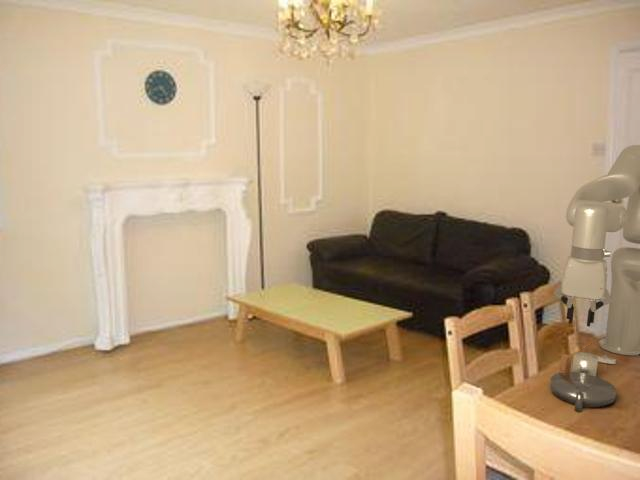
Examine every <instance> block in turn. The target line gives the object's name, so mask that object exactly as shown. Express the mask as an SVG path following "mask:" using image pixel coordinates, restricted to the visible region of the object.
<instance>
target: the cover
mask: <svg viewBox="0 0 640 480" xmlns="http://www.w3.org/2000/svg"><path fill="white" fill-rule="evenodd" d="M597 356H598V355H595V354H592V353H589V352H581V351H579V352H575V353H574V354H573V358H572V359H573V360H572V366H571V367H572V368H571V372H577V373H584V374H589V375H593V376H596V377H597V373H598V372H597V370H598V364H599V362H598V357H597Z"/></svg>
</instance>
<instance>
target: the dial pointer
mask: <svg viewBox="0 0 640 480" xmlns="http://www.w3.org/2000/svg"><path fill="white" fill-rule="evenodd" d="M583 397H584V394H583V393H582V390H579V392H577V393H576V401H575V404H574V411H575V412H577V413H582V412H583V407H584V406H583Z"/></svg>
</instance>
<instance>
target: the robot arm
mask: <svg viewBox="0 0 640 480" xmlns="http://www.w3.org/2000/svg"><path fill="white" fill-rule="evenodd" d="M624 198H625V199H626V198H628V200H627V205H626V207H625V206H624V205H622V204H620V203H617V202H611V201H617V200H621V199H624ZM565 219H566V222H567V224H568V225H570V226H571V227H573V228H572V229H573V230H572V237H571V238H572V239H571V249H570V255H569V256H567V257H566V262H565V265H564V268H563V269H564V270H563V275H562V280H561V284H559V286H558V287H557V288H556V289H555V290H554V292H553V295H554V296H555V297H556V298H558V299H559V300H560V301H561V302H562V303H563V304H564V305H565V307H566V308H567V310H566V317H565V318H566V319H565V320H568V324H571V325H572V323H573V321H574V313H575V306H574V304H573V303H574V299H575V298H577V299H583V300H589V304H590V307H589V308H588V311H587V321H586V326H587V327H588V328H590V327H591V324H594V323H595V322H594V321H595V314H596V313H595V312H596V311H597V310H599V309H600V308H602V307H603V306H608V313H607V321H606V330H605V337H604V338H601V339H600V340H599V341H598V342H599V343H598V345H599V347H600V348H602V349H604V350H605V351H608V352H611V353H613V354H616V355H617V354H618V355H622V356H623V355H624V356H640V355H639V354H640V248H639V247H629V246H627V247H625V246H624V247H619V248H617V249H615V250H614V251H613V252H612V255H611V251H608V250H606V249H605V246H606V239H607V238H606V236H607V233H616V232H619V231H621V230H622V238H623V239H624V240H625V241H626V242H629V243H632V244H637V245H640V144H634V145H629V146H627V147H625V148H623V149H622V150H621V152H620V153H619V155H618V156H617V158H616V160H615V161H614V163H613V164H612V166H611V167H610V169H609V171H608V173H607V174H605V175H602V176H599V177H598V178H596V179H593V180H591V181H590V182H588V183H585V184H584V185H582V186H581V187H579V189H578V190H577V191H576V192H575V194H574V195H573V196H572V198H571V200H570V201H569V203H568V206H567V209H566V213H565ZM607 257H608V258H610V257H611V258H610V272H611V287H610V293H609V291H608V289H607V279H608V266H607V265H608V263H607V260H606V259H605V258H607Z"/></svg>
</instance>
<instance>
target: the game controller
mask: <svg viewBox="0 0 640 480" xmlns="http://www.w3.org/2000/svg"><path fill="white" fill-rule="evenodd" d="M596 356H597V357H598V363H603V364H605V365H604V370H607V369H606V368H607V366H606V365H607V364H610V365H616V364H617V359H616V358H612V357H611V356H610V357H608V356H607V355H606V354H605V355H603V354H602V355H601V356H599V355H596Z"/></svg>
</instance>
